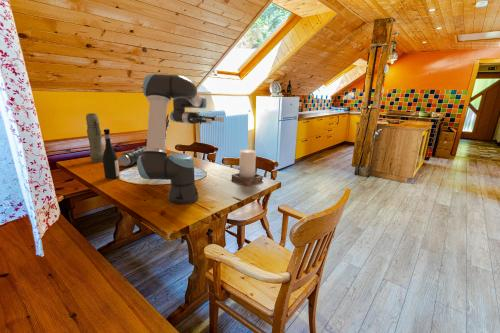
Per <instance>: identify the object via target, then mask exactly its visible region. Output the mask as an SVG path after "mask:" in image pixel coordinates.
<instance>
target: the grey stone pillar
mask: <svg viewBox="0 0 500 333" xmlns="http://www.w3.org/2000/svg"><path fill="white" fill-rule="evenodd" d="M85 116H86V117H85V120H86V121H85V122H86V125H87V126H86V128H87V130H86V134H87V135H86V136H87V140H88V142H89V156H90V160H91V161H90V162H91V163H96V164H98V163H103V155H104V149H103V142H102V138H103V137H102V135H103V134H102V130H101V129H100V121H99V116H98V115H97V113H93V112H92V113H87V114H86V115H85Z"/></svg>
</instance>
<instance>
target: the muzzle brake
mask: <svg viewBox="0 0 500 333" xmlns="http://www.w3.org/2000/svg"><path fill="white" fill-rule="evenodd" d="M145 149H146V145H142V146H140V147H137V148H134V149H132V150H129V151H127V152H126V151H125V152H122V153H121V154H120V155H119V157H118V164H119V165H121V166H123V167H131V166H133V165H134V164H135V163H137V160H138V157H139V156H141V155H143V151H144V150H145Z"/></svg>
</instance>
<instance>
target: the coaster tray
mask: <svg viewBox="0 0 500 333" xmlns="http://www.w3.org/2000/svg"><path fill="white" fill-rule="evenodd" d="M263 178H264V176H263V175H261V174H257V173H256V172H255V178H252V179H248V180H246V179H243V178H241V177H239V172H237V173H232V174H231V180H232V181H233V182H236V183H238V184H241V185H243V186H246V187H250V186H252V185H255V184H258V183H261V182H260V181H262V180H263V181H264V179H263ZM263 181H262V182H263ZM257 182H258V183H257Z"/></svg>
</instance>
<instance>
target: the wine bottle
mask: <svg viewBox="0 0 500 333" xmlns="http://www.w3.org/2000/svg"><path fill="white" fill-rule="evenodd" d="M103 133H104V140H105V149H104V150H103V152H104V155H103V162H102V166H103V171H104V172H103V173H104V178H105V179H107V180H114V179H115V180H116V179H118V178H119V177H120V168H119V158H118V156H117V153H116V151H115V150H114V149H113V146H112V143H111V134H110V133H111V132H110V129H109V128H105V129H103Z"/></svg>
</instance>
